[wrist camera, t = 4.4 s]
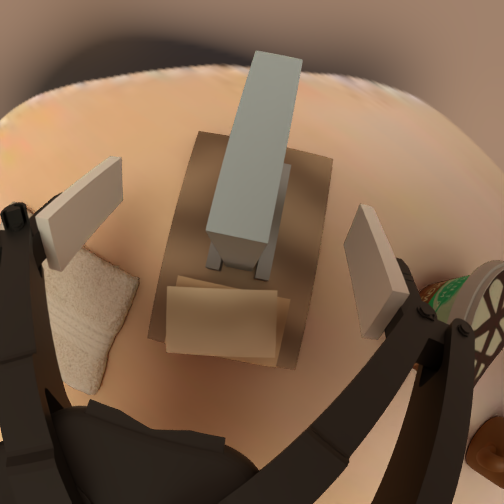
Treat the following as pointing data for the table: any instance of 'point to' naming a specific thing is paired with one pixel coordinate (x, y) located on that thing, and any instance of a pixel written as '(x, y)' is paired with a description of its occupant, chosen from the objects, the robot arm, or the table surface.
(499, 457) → the mug
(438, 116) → the table surface
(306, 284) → the brown rectangular board
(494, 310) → the food container
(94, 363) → the washcloth
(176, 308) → the offcut stack
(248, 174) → the tall panel
